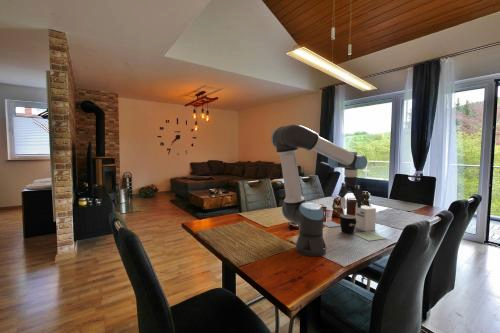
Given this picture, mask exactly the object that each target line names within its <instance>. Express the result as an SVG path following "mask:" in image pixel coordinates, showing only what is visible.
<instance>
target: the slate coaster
mask: <svg viewBox="0 0 500 333" xmlns="http://www.w3.org/2000/svg"><path fill="white" fill-rule="evenodd" d="M323 226H325V227H327V228H337V227H341V225H340V223H337V222H335V221H332V220H331V221H323Z"/></svg>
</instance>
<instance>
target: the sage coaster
mask: <svg viewBox="0 0 500 333" xmlns="http://www.w3.org/2000/svg"><path fill="white" fill-rule="evenodd" d="M353 235H355V236H357V237H358V238H361V239H363V240H365V241H367V242H374V241H380V240H386V237H383V236H381V235H379V234H377V233H374V232H372V231H363V232H355V233H354V232H353Z"/></svg>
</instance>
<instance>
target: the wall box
mask: <svg viewBox="0 0 500 333" xmlns="http://www.w3.org/2000/svg"><path fill="white" fill-rule="evenodd" d="M376 215H377V208H376V207H372V206H369V205H361V208H360V213H356V209H355V214H354V216H355V217H356V226H355V228H357V229H360V230H362V231H363V232H370V231H376V218H377V217H376Z"/></svg>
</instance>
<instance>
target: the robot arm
mask: <svg viewBox="0 0 500 333" xmlns="http://www.w3.org/2000/svg"><path fill="white" fill-rule="evenodd" d="M271 143H272V145H273V146H274V147H275V149H276V150H275V151H276V154H278V155H279V158H280V164H281V170H282V171H281V172H282V178H283V185H284V186H283V187H284V193H285V198H284V199H283V204H282V206H281V213H282V215H283V217H284V219H287V220H288V221H289V222H291V223H294V224H295V225H298V226H299V228H298V230H299V232H298V236H297V240H296V242H295V251H296V252H297V253H299V254H300V255H301V254H302V255H304V256H308V257H321V256H323V255H325V254H326V253H327V246H326V243H325V239H324V225H323V222H324V216H325V215H324V210H323V207H322V206H321V205H320V204H317V203H314V202H313V203H312V202H306V199H305V197H304V196H303V195H302V189H301V188H302V187H301V183H300V182H301V181H300V174H299V168H298V167H299V166H298V161H297V152H298V151H299V149H303V150H306V151H314V152H316V153H318V154H320V155H322V156H325V157H326V158H328V160H327V164H328V166H329V167H330V168H335V169H336V168H338V169H339V168H341V169H344V172H343V173H344V174H343V175H344V180H343V182H341V186H340V189H339V192H338V194H337V195H338V197H340V208H341V209H342V208H346V195H347V193H348V192H351V193H352V194H353V196H354V198H355V200H356V201H355V210H356V213H360V208H361V206H362V203H363V202H365V199H364V195H363V192H362V189H361V185H358V184H357V183H358V173H359V172H358V171H359V170H364V169H365V168H366V167H367V166H368V158H367V157H366V156H365V155H362V154H359V152H358V151H354V150H353V151H349V150H348V149H345V148H343V147H341V146H339V145H337V144H336V143H333V142H331V141H330V140H327V139H325V138H323V137H321V136H319V133H318V132H316V131H314V130H311V129H310V128H308V127H305V126H303V125H299V124H290V125H289V124H288V125H282V126H279V127H276V128H275V129H274V130H273V132H272V134H271Z"/></svg>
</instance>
